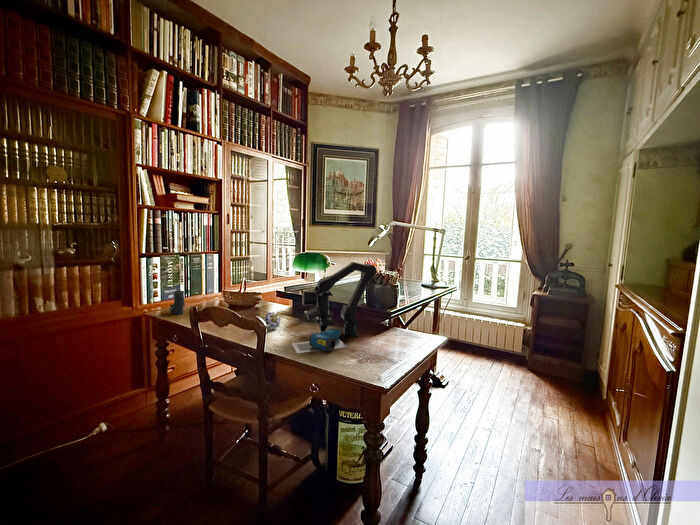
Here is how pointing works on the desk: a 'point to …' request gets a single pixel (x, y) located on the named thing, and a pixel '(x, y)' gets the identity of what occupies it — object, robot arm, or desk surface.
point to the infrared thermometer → (325, 339)
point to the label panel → (306, 347)
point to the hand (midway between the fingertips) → (322, 333)
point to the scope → (177, 303)
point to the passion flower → (272, 320)
